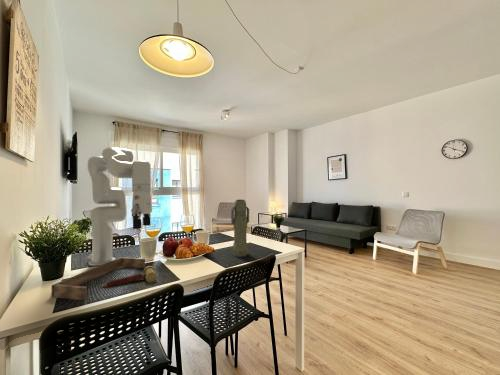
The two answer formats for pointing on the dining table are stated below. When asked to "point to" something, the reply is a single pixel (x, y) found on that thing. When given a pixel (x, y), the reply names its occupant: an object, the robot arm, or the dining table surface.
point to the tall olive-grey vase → (240, 227)
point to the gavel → (134, 277)
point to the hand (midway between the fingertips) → (142, 226)
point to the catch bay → (90, 278)
